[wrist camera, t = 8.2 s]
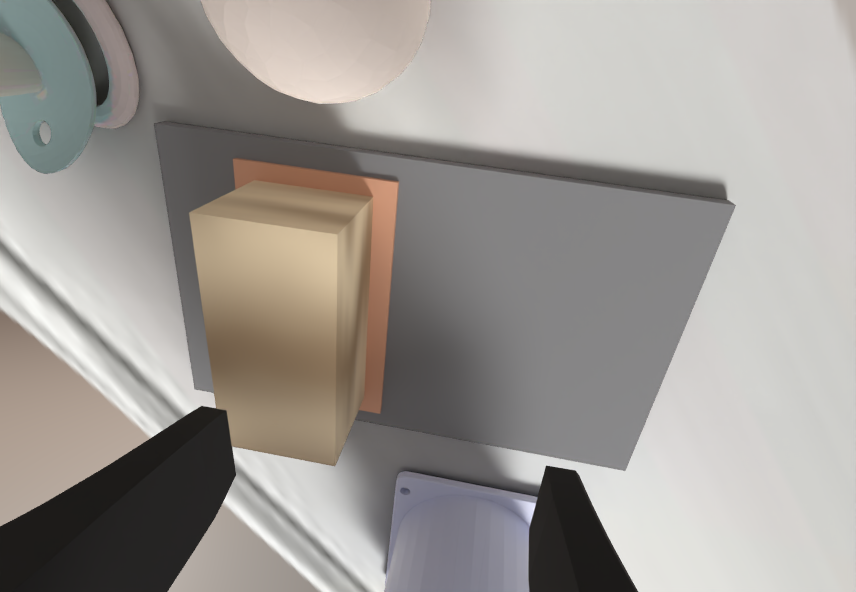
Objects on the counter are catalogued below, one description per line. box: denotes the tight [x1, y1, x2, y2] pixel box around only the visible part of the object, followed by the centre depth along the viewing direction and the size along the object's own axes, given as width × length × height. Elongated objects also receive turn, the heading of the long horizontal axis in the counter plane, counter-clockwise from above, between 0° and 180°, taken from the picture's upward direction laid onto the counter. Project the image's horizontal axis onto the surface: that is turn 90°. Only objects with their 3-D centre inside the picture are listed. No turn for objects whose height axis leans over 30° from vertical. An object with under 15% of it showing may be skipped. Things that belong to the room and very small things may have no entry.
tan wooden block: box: [189, 180, 373, 466], centre depth 17 cm, size 9×4×4 cm, turn 175°
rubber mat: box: [154, 121, 736, 471], centre depth 19 cm, size 12×20×1 cm, turn 84°
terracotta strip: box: [233, 158, 399, 414], centre depth 19 cm, size 10×6×1 cm, turn 174°
